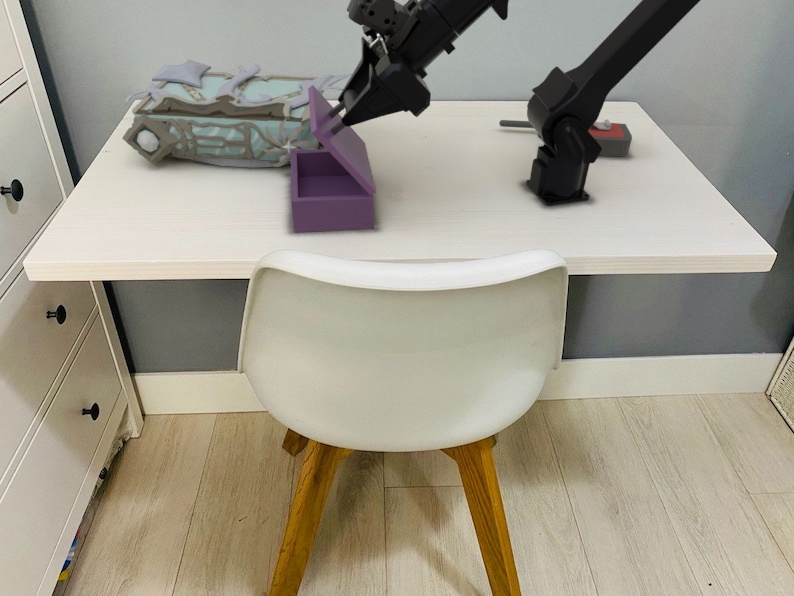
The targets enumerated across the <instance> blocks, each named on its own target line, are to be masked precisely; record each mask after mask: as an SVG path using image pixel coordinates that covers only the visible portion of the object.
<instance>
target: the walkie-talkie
mask: <svg viewBox="0 0 794 596" xmlns="http://www.w3.org/2000/svg"><path fill="white" fill-rule="evenodd" d="M498 124H499V126H500V127H502V128H503V127H504V128H524V129H534V127H533V126H532V125H531V124H530V122H529V121H528V120H512V119H500V120H499V123H498ZM588 132H589V133H590V134H591V135H592V136H593V138H594V139H595V140H596V141H597V142H598V144H599V145H600V146H601V147H602V151H601V152H600V154H599V156H606V157H625V156H628V155H629V151H630V147H631V145H632V140H633V135H632V133H631V131H630V129H629V128H628V126H627V124H626V123H619V122H611V121H610V120H609V119H608V118H607V119H604V122H601V121H600V122H599V121H596V122H595V123H594V124H593V126H592V127H591V128H590V129H589V131H588Z"/></svg>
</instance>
